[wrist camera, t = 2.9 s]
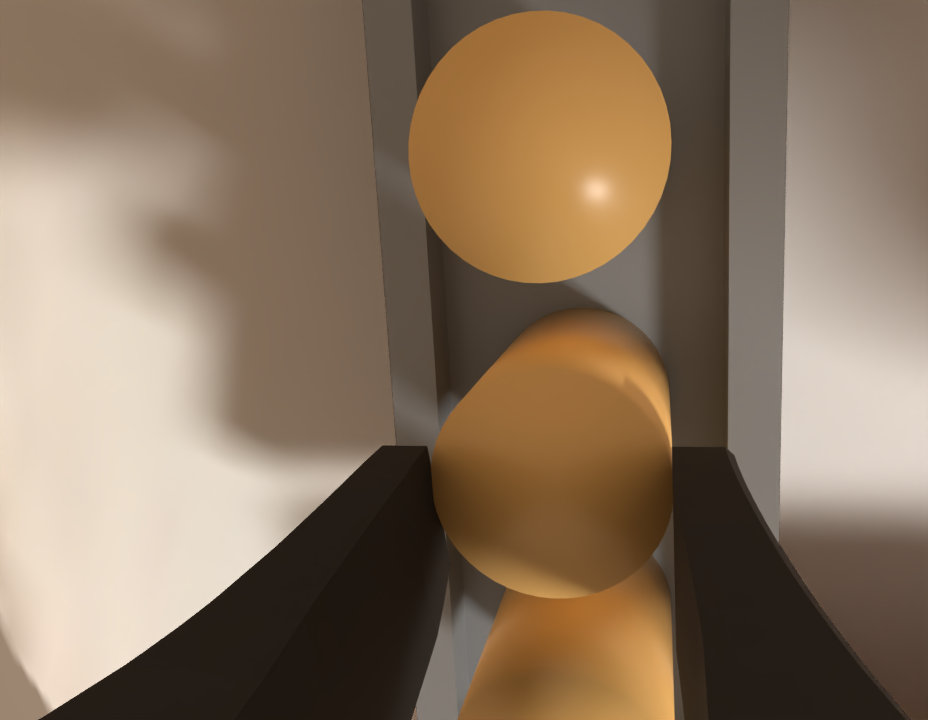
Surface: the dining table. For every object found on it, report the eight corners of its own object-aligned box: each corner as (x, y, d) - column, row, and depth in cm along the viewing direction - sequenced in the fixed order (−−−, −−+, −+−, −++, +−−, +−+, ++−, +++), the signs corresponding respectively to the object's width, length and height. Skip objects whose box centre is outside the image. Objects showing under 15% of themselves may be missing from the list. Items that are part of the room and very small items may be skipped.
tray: (777, -281, 13) (862, -608, 8) (761, 770, 16) (810, 1054, 11) (380, -213, 14) (214, -445, 9) (445, 740, 18) (355, 978, 13)
